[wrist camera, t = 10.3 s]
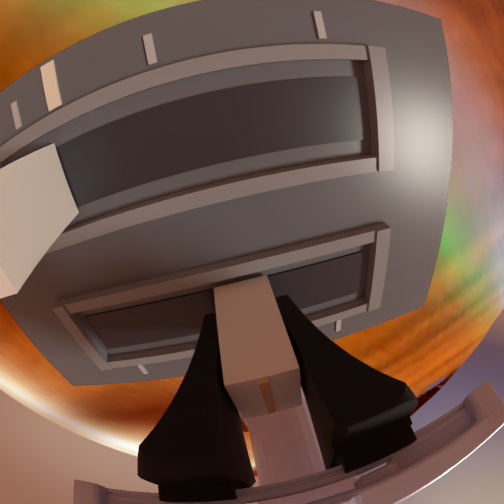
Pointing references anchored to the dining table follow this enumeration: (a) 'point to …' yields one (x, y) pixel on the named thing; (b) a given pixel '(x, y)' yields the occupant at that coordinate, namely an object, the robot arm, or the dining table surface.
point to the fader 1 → (31, 214)
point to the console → (233, 174)
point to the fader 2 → (255, 349)
